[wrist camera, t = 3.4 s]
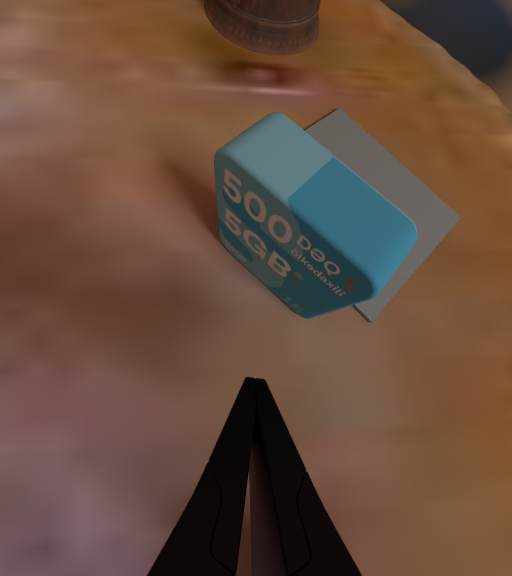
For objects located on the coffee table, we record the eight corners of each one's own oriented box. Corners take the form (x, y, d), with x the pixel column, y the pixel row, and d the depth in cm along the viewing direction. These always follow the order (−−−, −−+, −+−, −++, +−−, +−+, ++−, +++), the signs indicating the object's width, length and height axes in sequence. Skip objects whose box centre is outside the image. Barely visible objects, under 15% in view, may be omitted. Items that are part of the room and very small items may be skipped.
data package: (218, 243, 22) (209, 135, 11) (247, 217, 24) (267, 97, 12) (303, 321, 21) (393, 295, 10) (329, 290, 23) (435, 234, 11)
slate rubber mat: (458, 219, 27) (461, 217, 27) (369, 322, 22) (371, 321, 22) (338, 110, 30) (339, 107, 29) (231, 180, 24) (231, 177, 24)
